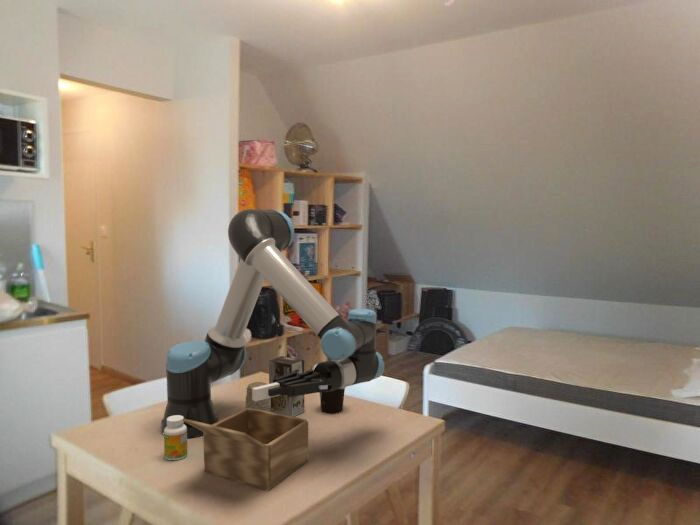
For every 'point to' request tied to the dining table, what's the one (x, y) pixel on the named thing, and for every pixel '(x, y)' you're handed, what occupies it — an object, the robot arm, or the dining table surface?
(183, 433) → the supplement bottle
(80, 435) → the dining table surface
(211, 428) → the flap
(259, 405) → the carving
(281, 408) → the coffee box
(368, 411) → the dining table surface
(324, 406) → the coffee mug
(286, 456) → the wooden open box
